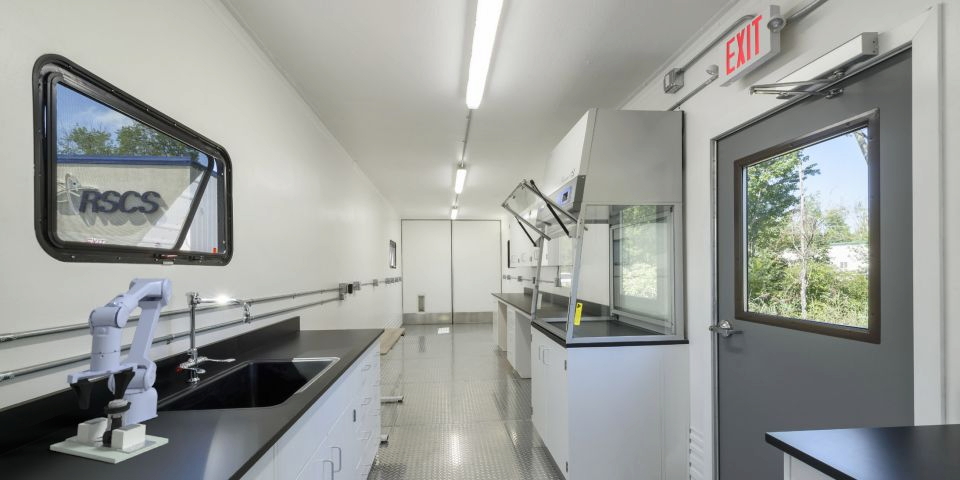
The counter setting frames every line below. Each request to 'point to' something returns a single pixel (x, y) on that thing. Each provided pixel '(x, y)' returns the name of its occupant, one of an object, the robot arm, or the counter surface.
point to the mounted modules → (120, 436)
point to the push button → (114, 418)
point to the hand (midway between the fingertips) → (102, 403)
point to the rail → (108, 445)
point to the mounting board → (104, 450)
